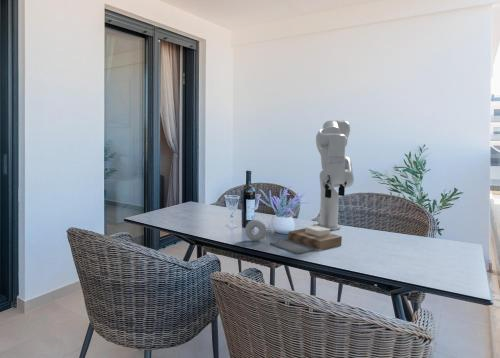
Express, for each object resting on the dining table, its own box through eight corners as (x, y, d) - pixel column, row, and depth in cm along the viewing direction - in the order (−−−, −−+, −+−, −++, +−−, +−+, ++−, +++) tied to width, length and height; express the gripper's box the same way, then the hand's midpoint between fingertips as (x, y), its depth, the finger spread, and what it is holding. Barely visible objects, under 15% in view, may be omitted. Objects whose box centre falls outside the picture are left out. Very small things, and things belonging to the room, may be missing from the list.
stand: (288, 239, 177) (288, 231, 177) (309, 235, 186) (309, 227, 185) (320, 250, 161) (320, 241, 161) (341, 245, 170) (341, 236, 169)
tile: (305, 232, 176) (305, 227, 176) (315, 230, 180) (315, 225, 180) (319, 236, 169) (319, 231, 168) (330, 234, 173) (330, 229, 173)
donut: (244, 241, 174) (244, 220, 173) (245, 239, 177) (246, 218, 176) (265, 242, 172) (266, 221, 171) (266, 240, 175) (267, 219, 174)
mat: (270, 244, 169) (270, 243, 169) (288, 240, 176) (288, 239, 176) (298, 254, 155) (298, 253, 155) (316, 250, 162) (316, 248, 162)
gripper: (341, 159, 185) (340, 194, 187) (317, 160, 174) (316, 197, 176) (354, 160, 179) (352, 196, 181) (330, 161, 168) (329, 199, 170)
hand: (334, 196), depth 178 cm, fingers open, 9 cm apart
